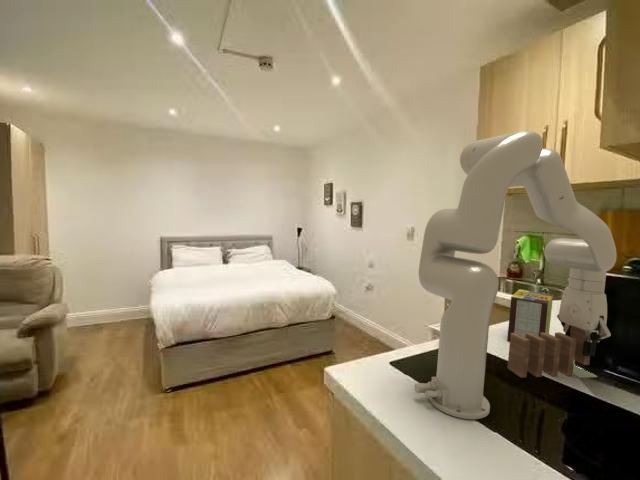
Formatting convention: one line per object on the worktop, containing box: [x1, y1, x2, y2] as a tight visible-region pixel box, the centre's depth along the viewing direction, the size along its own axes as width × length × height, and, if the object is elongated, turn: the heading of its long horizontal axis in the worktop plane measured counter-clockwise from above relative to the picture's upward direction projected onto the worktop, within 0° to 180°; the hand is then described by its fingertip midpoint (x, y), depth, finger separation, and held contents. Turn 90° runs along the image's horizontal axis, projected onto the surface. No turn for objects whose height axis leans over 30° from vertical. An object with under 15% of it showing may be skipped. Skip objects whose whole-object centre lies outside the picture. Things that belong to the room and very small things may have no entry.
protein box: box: [506, 288, 554, 343], centre depth 112 cm, size 10×15×16 cm
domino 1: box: [506, 333, 530, 379], centre depth 87 cm, size 2×5×10 cm, turn 8°
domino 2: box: [525, 333, 546, 378], centre depth 88 cm, size 2×5×10 cm, turn 8°
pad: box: [572, 364, 598, 379], centre depth 90 cm, size 6×7×1 cm
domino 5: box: [570, 325, 593, 366], centre depth 89 cm, size 2×5×10 cm, turn 8°
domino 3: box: [540, 333, 561, 378], centre depth 88 cm, size 2×5×10 cm, turn 8°
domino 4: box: [554, 331, 576, 377], centre depth 89 cm, size 2×5×10 cm, turn 8°
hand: (578, 350), depth 89 cm, fingers closed on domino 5, 4 cm apart
